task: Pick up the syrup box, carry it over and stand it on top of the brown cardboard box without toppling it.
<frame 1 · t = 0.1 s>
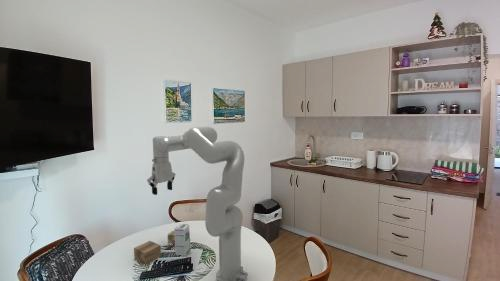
hand: (162, 192, 138), 31 cm above the table, fingers open, 9 cm apart
brown cardboard box: (148, 258, 131), on the table
syrup box: (182, 253, 136), on the table
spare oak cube: (174, 241, 149), on the table
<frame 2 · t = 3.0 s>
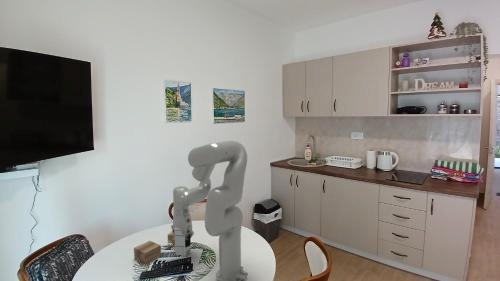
hand: (182, 243, 135), 5 cm above the table, fingers closed on syrup box, 7 cm apart
syrup box: (183, 253, 136), on the table, touching gripper
everything else where it was.
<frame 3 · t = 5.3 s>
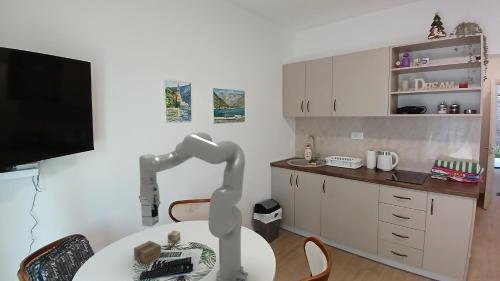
hand: (149, 214, 130), 22 cm above the table, fingers closed on syrup box, 7 cm apart
syrup box: (150, 224, 130), point 17 cm above the table, touching gripper
everything else where it was.
when the fingers open (12 cm above the table, at t = 7.8 s): syrup box drops 1 cm, resting on brown cardboard box.
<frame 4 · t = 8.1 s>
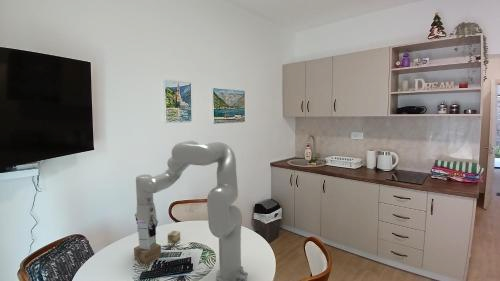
hand: (146, 233, 130), 13 cm above the table, fingers open, 9 cm apart
syrup box: (147, 246, 131), point 6 cm above the table, touching brown cardboard box
everything else where it was.
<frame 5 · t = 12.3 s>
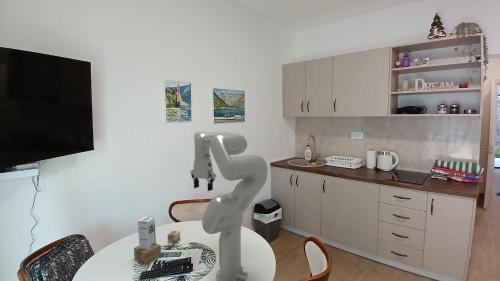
hand: (203, 188, 135), 33 cm above the table, fingers open, 9 cm apart
nothing on the table moved.
at the end: syrup box 0.1 cm off-centre on the brown cardboard box, point 5.8 cm above the brown cardboard box's base; syrup box tilted 0°; the gripper is holding nothing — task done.
